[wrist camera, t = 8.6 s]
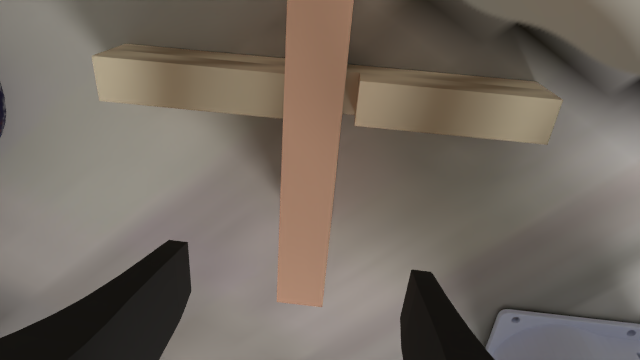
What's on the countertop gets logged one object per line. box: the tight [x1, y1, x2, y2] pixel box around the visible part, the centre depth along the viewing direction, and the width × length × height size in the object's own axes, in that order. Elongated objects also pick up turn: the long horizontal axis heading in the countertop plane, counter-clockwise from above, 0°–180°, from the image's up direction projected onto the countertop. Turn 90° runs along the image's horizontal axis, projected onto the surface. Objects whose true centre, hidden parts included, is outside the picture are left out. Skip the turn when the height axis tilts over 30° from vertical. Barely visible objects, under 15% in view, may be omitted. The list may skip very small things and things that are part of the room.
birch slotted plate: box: [92, 44, 563, 145], centre depth 20 cm, size 20×2×3 cm, turn 86°
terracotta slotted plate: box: [277, 0, 354, 307], centre depth 18 cm, size 16×2×7 cm, turn 176°
